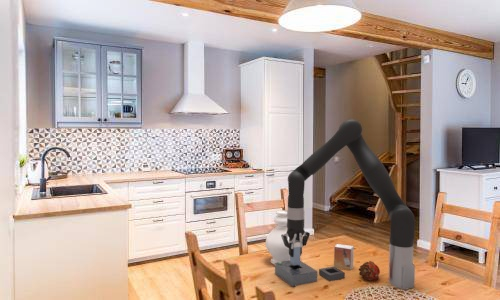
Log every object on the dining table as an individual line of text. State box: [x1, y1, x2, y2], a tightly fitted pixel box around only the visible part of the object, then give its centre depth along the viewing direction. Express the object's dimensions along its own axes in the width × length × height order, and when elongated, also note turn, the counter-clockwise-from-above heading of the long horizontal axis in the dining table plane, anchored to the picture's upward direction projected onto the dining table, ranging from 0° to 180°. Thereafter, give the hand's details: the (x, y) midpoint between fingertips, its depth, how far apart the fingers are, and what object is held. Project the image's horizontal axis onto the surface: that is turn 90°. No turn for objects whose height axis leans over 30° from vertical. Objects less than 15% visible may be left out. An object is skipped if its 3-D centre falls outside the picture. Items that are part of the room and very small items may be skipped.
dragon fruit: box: [358, 260, 381, 281], centre depth 159 cm, size 8×8×12 cm
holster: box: [318, 265, 346, 282], centre depth 161 cm, size 8×8×3 cm
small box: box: [333, 243, 355, 271], centre depth 172 cm, size 8×6×10 cm
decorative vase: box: [265, 209, 290, 266], centre depth 180 cm, size 18×18×25 cm
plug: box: [290, 240, 301, 265], centre depth 160 cm, size 3×3×10 cm
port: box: [274, 260, 318, 288], centre depth 161 cm, size 16×12×6 cm
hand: (295, 255), depth 160 cm, fingers closed on plug, 3 cm apart
